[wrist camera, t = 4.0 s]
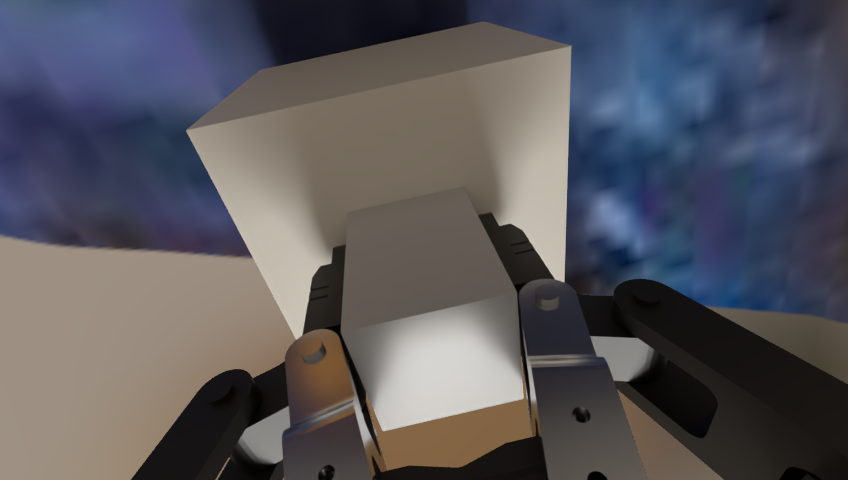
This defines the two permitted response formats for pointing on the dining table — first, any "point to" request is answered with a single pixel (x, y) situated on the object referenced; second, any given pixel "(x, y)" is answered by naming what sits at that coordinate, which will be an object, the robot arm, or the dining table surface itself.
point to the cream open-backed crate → (404, 200)
